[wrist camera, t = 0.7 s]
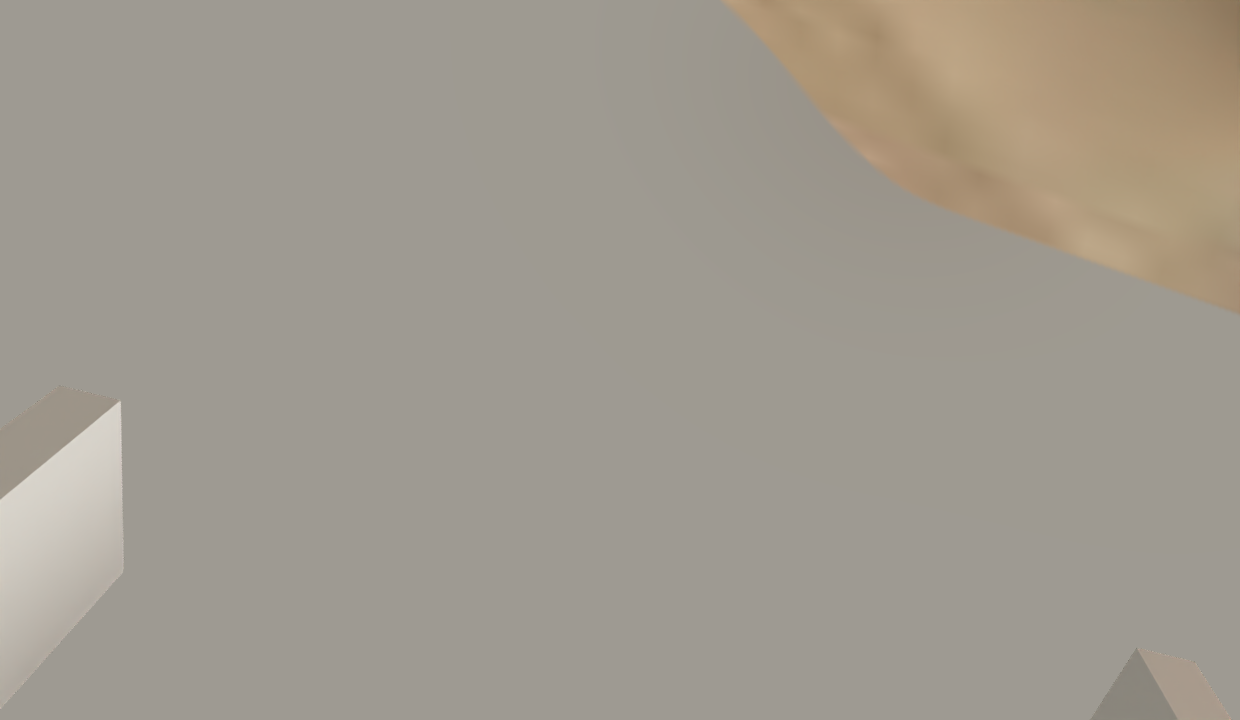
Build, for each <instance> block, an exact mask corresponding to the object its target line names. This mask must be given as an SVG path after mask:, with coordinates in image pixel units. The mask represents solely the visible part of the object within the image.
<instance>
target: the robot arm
mask: <svg viewBox="0 0 1240 720" xmlns="http://www.w3.org/2000/svg"><path fill="white" fill-rule="evenodd" d="M121 453H122V451H121V401H120V400H117V399H112V398H108V397H105V396H100V395H96V394H92V393H88V392H84V391H80V390H76V389H72V388H68V387H64V386H59V387H57V388H56V389H55V390H53V391H52V392H51V393H49V394H48V395H46V396H45V397H44V398H43V399H41V400H39V401H38V402H37V403H35V404H34V405H33V406H31V407H30V408H28V409H27V410H26V411H24V412H23V413H22V414H20V415H19V416H17V417H16V418H15V419H13V420H12V421H11V422H9V423H8V424H7V425H5V426H4V427H2V428H1V429H0V709H1V708H2V707H3V705H5V703H6V702H7V701H8V700H9V699H10V698H11V697H12V696H13V694H14V693H15V692H16V691H17V690H18V689H19V688H20V687H21V686H22V684H23V683H24V682H25V681H26V680H27V679H28V678H29V676H30V675H31V674H32V673H33V672H34V671H35V670H36V669H37V668H38V666H39V665H40V664H41V663H42V662H43V661H44V660H45V659H46V657H47V656H48V655H49V654H50V653H51V652H52V651H53V650H54V649H55V647H56V646H57V645H58V644H59V643H60V642H61V641H62V640H63V638H64V637H65V636H66V635H67V634H68V633H69V632H70V630H72V628H73V627H74V626H75V625H76V624H77V623H78V622H79V621H80V619H81V618H82V617H83V616H84V615H85V614H86V613H87V612H88V610H89V609H90V608H91V607H92V606H93V605H94V604H95V603H96V602H97V600H98V599H99V598H100V597H101V596H102V595H103V594H104V592H105V591H106V590H107V589H108V588H109V587H110V586H111V585H112V584H113V582H114V581H115V580H116V579H117V578H118V577H119V576H120V575H121V574H122V572H123V571H124V563H123V513H122V512H123V509H122V508H123V507H122V454H121ZM1090 720H1232V719H1231V718H1230V716H1229V715H1228V713H1227V712H1226V710H1225V709H1224V707H1223V705H1222V704H1221V702H1220V701H1219V700H1218V698H1217V697H1216V695H1215V693H1214V692H1213V690H1212V689H1211V687H1210V685H1209V684H1208V682H1207V681H1206V679H1205V677H1204V676H1203V674H1202V673H1201V671H1200V670H1199V668H1198V667H1197V665H1196V664H1195V662H1192V661H1189V660H1185V659H1180V658H1177V657H1172V656H1168V655H1164V654H1160V653H1156V652H1152V651H1147V650H1144V649H1139V648H1136V650H1135V651H1134V653H1133V654H1132V656H1131V657H1130V659H1129V660H1128V662H1127V663H1126V665H1125V667H1124V668H1123V670H1122V672H1121V673H1120V675H1119V676H1118V677H1117V679H1116V681H1115V682H1114V684H1113V685H1112V687H1111V688H1110V690H1109V691H1108V693H1107V695H1106V696H1105V698H1104V699H1103V701H1102V702H1101V704H1100V705H1099V707H1098V709H1097V710H1096V712H1095V713H1094V715H1093V716H1092V718H1091V719H1090Z"/></svg>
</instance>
